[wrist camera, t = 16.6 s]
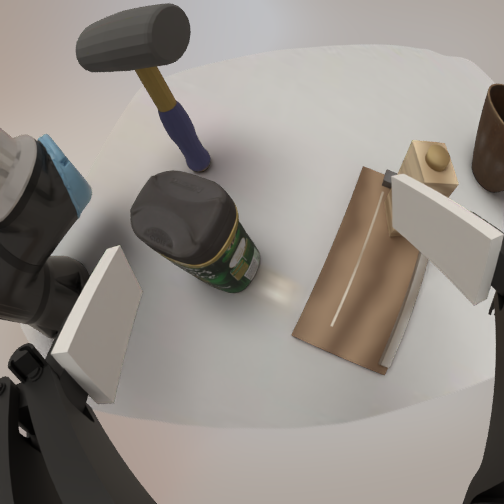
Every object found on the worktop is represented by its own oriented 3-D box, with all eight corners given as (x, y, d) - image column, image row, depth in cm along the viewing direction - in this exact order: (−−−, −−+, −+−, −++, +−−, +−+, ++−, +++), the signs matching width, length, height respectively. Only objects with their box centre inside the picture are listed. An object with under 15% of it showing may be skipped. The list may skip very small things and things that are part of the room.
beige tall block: (389, 236, 36) (428, 175, 21) (384, 202, 37) (415, 132, 23) (415, 236, 35) (463, 178, 21) (409, 203, 36) (448, 136, 22)
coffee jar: (185, 274, 41) (108, 224, 24) (210, 226, 43) (153, 153, 26) (243, 303, 39) (192, 267, 21) (269, 251, 40) (240, 179, 23)
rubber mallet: (243, 154, 46) (182, -12, 18) (225, 192, 44) (135, 23, 16) (181, 143, 49) (101, 10, 21) (162, 177, 48) (59, 47, 20)
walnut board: (291, 335, 36) (290, 334, 33) (361, 173, 41) (364, 160, 38) (380, 373, 32) (387, 376, 29) (435, 205, 38) (444, 195, 34)
